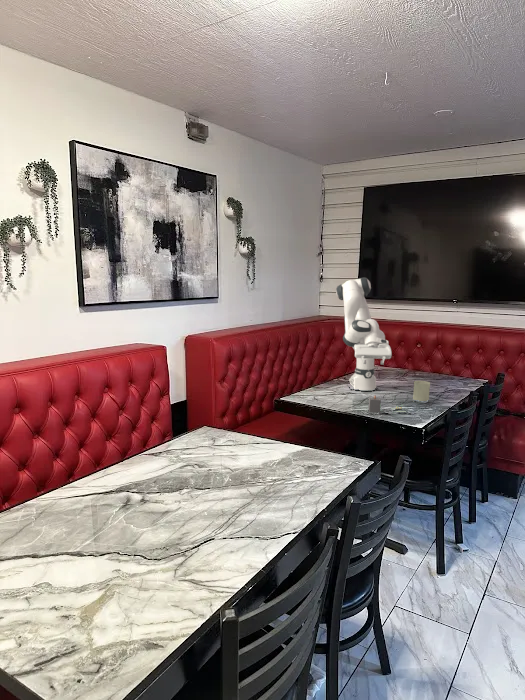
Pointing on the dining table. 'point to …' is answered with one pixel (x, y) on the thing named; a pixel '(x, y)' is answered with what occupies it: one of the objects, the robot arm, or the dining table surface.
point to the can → (421, 390)
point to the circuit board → (398, 409)
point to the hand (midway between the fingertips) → (373, 363)
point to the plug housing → (374, 404)
